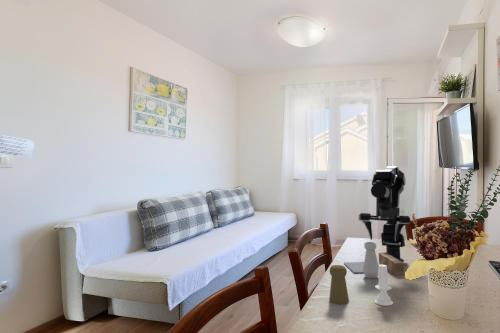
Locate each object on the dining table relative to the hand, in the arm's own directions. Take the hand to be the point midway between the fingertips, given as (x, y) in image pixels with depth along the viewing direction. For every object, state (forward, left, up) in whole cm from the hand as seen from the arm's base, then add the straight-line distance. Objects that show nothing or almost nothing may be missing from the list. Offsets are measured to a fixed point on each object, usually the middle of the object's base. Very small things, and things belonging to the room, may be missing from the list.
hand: (383, 240), depth 143 cm
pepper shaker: (+28, -25, -12) cm, 40 cm away
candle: (+31, -12, -12) cm, 36 cm away
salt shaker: (+6, -7, -12) cm, 16 cm away
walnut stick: (-3, +4, -12) cm, 13 cm away
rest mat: (-6, -7, -12) cm, 15 cm away
